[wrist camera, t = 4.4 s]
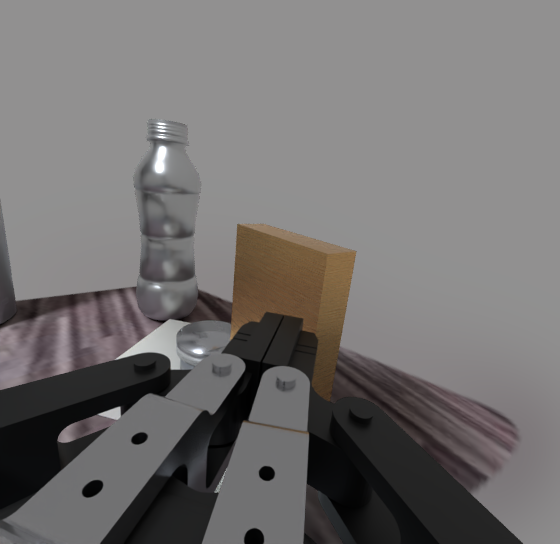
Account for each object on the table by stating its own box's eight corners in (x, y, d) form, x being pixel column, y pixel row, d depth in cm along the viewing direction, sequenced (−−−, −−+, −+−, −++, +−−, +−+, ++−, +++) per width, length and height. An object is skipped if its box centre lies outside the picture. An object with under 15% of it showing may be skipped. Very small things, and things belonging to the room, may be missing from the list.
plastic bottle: (179, 299, 39) (181, 130, 34) (209, 318, 35) (216, 128, 29) (126, 310, 35) (118, 117, 29) (153, 334, 31) (149, 113, 25)
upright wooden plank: (166, 341, 25) (166, 207, 22) (222, 328, 28) (229, 209, 25) (270, 478, 14) (297, 256, 11) (341, 432, 17) (378, 249, 14)
